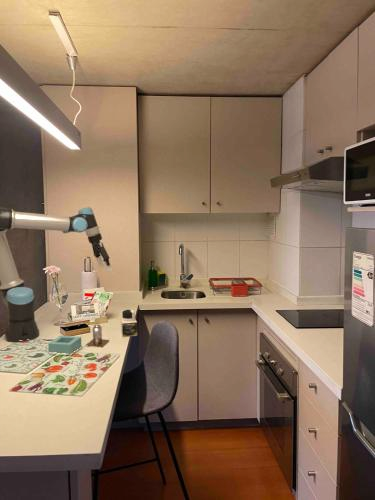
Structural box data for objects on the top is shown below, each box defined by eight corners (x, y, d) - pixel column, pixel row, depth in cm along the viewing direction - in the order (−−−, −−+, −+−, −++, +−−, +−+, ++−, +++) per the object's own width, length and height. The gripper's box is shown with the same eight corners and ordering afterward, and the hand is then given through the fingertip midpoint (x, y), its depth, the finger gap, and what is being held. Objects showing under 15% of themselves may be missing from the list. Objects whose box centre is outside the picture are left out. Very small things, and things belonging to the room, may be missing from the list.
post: (85, 346, 167) (85, 327, 166) (93, 340, 174) (92, 322, 174) (102, 347, 165) (101, 328, 164) (109, 341, 173) (108, 323, 172)
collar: (48, 354, 157) (48, 343, 156) (60, 346, 167) (60, 335, 166) (70, 356, 155) (70, 344, 154) (81, 347, 165) (81, 336, 164)
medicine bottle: (122, 337, 178) (121, 313, 177) (121, 332, 185) (120, 309, 184) (137, 335, 180) (136, 311, 179) (135, 331, 187) (134, 308, 186)
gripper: (107, 233, 199) (119, 269, 205) (93, 231, 221) (104, 263, 226) (94, 238, 196) (107, 274, 202) (81, 235, 217) (93, 268, 223)
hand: (105, 268), depth 214 cm, fingers open, 13 cm apart
